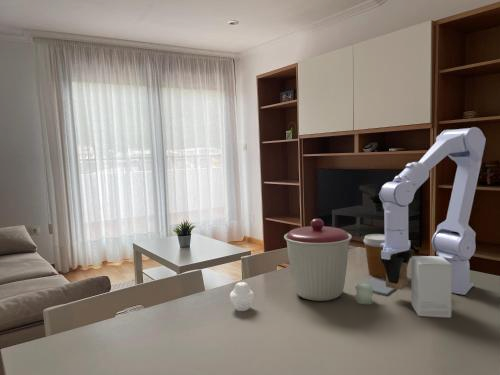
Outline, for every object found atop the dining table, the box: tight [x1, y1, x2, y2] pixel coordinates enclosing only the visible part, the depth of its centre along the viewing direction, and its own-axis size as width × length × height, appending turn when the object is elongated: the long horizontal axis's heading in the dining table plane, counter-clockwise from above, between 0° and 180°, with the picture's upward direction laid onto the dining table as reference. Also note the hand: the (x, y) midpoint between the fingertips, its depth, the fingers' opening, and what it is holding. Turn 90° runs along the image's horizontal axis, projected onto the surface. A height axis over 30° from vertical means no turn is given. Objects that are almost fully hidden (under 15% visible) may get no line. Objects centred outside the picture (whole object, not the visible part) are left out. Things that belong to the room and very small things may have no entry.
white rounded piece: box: [229, 281, 255, 312], centre depth 95 cm, size 6×6×7 cm
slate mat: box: [360, 277, 396, 297], centre depth 107 cm, size 9×9×1 cm
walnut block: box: [385, 262, 408, 291], centre depth 98 cm, size 4×4×6 cm
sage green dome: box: [355, 283, 373, 305], centre depth 98 cm, size 4×4×4 cm
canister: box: [283, 218, 353, 302], centre depth 103 cm, size 18×18×21 cm
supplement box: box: [410, 255, 452, 318], centre depth 90 cm, size 7×7×13 cm
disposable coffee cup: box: [362, 233, 386, 278], centre depth 118 cm, size 10×10×12 cm
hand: (396, 280), depth 98 cm, fingers closed on walnut block, 4 cm apart
